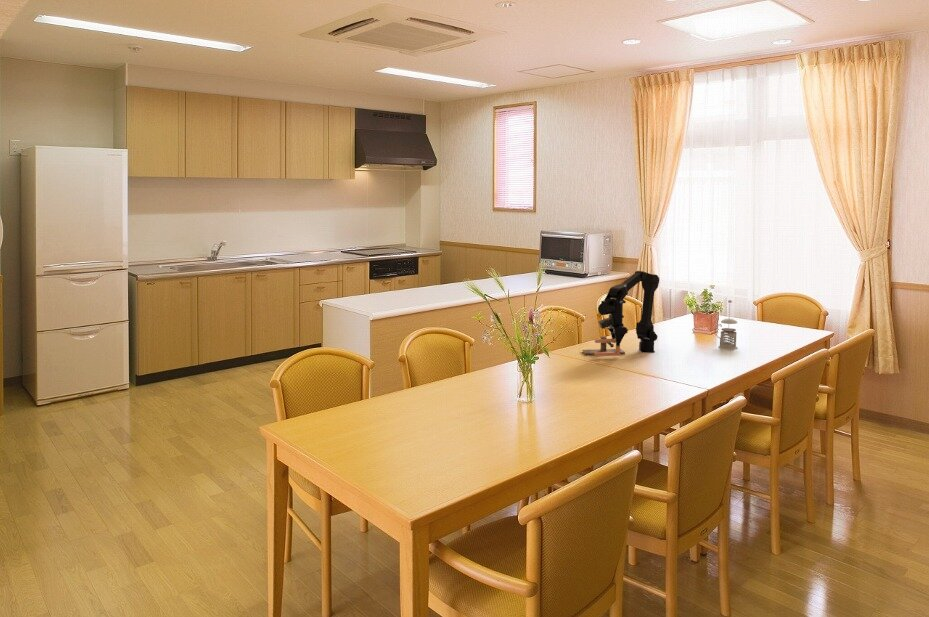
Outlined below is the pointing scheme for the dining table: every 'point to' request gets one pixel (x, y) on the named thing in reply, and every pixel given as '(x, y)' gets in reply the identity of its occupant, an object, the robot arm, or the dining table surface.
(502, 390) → the dining table surface
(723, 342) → the french press
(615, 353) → the c link
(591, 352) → the stand
